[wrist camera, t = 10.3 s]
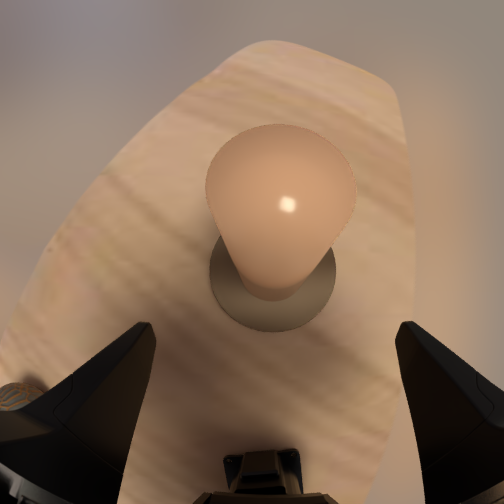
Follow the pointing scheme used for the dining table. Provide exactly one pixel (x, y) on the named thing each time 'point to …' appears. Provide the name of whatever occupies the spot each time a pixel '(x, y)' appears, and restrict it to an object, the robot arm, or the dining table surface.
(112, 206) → the dining table surface
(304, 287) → the stand
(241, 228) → the tan tapered cylinder
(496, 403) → the robot arm
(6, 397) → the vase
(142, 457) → the dining table surface
